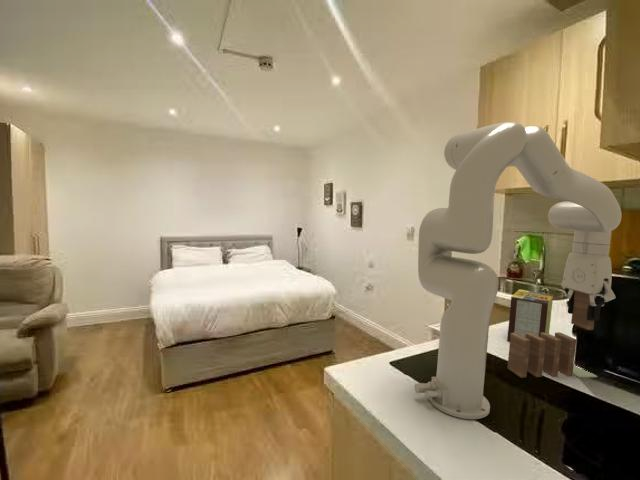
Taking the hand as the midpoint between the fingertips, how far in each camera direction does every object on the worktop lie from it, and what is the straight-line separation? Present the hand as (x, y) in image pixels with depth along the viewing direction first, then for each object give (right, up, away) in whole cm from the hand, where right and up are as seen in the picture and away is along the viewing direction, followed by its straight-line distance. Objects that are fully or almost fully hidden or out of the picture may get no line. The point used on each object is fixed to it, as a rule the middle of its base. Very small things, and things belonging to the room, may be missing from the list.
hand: (582, 316), depth 89 cm
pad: (-1, -15, +1) cm, 15 cm away
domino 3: (-10, -15, 0) cm, 18 cm away
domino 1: (-19, -15, -1) cm, 24 cm away
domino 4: (-5, -15, +1) cm, 16 cm away
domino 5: (0, -3, 0) cm, 3 cm away
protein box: (0, -14, +24) cm, 27 cm away
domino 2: (-14, -15, -1) cm, 21 cm away
